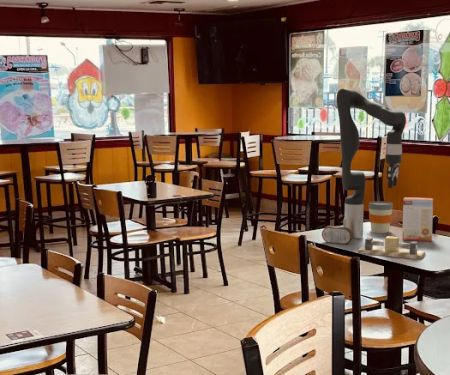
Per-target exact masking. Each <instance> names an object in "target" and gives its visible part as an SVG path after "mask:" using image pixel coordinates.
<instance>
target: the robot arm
mask: <svg viewBox="0 0 450 375" xmlns="http://www.w3.org/2000/svg"><path fill="white" fill-rule="evenodd" d="M335 100H336V105H337V106H336V107H337V112H338V118H339V119H338V121H339V131H340V132H339V135H340V147H341V161H342V162H341V184H342V187H343V189H344V190H345V191H354V192H353V193H352V194H350V195H348V196H346V197H345V199H344V218H343V219H342V220H343V221H342V223H343V225H342V227H347V228H349V229H350V230H351V231H352V233H353V239H352V240H354V239H355V240H357V239H363V238H364V201H365V195H366V193H365V192H366V181H367V180H366V175H365V173H364V171H351V168H352V163H353V160H354V157H355V156H356V154H357V153H358V151H359V148H360V134H359V129H358V127H357V125H356V123H355V121H354V120H353V117H352V114H351V113H352V112H351V108H353V109H359V110H361V111H364V112H365V113H366V114H367V115H369V116H370V117H372V118H373V119H374V118H375V119H377V120H379V121H380V122H381V123H383V124H384V125H386V126H388V127H392V129H391V130H390V131H388V132H387V134H386V145H385V154H384V155H385V161H384V162H385V163H386V164H389V166H387V167H386V180H387V188H388V189H392V188H393V187H396V186H398V178H399V176H400V164H402V159H403V158H402V155H403V147H402V146H403V145H402V143H403V142H402V141H403V140H402V139H403V133H404V130H405V126H406V123H407V122H406V121H407V119H406V118H407V117H406V114H405V113H404V112H403V111H401V110H390V109H389V108H388V107H387V106H386V105H384V104H381V103H379V102H377V101H373V100H371V99H369V98H368V97H366V96H364V95H363V94H362V93H360V92H359V91H357V90H355V89H353V88H345V87H343V88H340V89H339V90H338V91H337V93H336V98H335Z"/></svg>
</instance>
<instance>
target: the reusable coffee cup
mask: <svg viewBox="0 0 450 375" xmlns="http://www.w3.org/2000/svg"><path fill="white" fill-rule="evenodd" d="M393 209H394V205H393V202H390V201H381V200H380V201H378V200H377V201H370V202H368V210H369V212H368V216H369V217H368V218H369V222H370V230H371V231H370V232H373V233H376V234H377V233H378V234H379V233H381V234H385V233H389V231H390V225H391V223H392V218H393Z"/></svg>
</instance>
